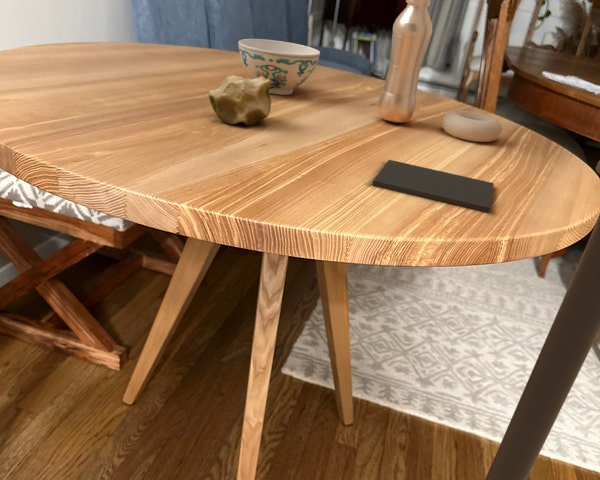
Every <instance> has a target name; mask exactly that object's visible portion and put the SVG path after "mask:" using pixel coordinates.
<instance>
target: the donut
mask: <svg viewBox="0 0 600 480" xmlns="http://www.w3.org/2000/svg"><path fill="white" fill-rule="evenodd" d="M441 126H442V129H443V130H444V132H446V133H447V134H449V135H450V136H452V137H453V138H454V137H455V138H457V139H461V140H464V141H468V142H474V143H475V142H476V143H490V142H494V141H496V140H498V139H499V137H500V136H501V134H502V132H503V125H502V123H501V122H500V121H499V120H498V119H497V118H495V117H493V116H491V115H488V114H485V113H481V112H477V111H471V110H470V111H469V110H463V109H462V110H461V109H460V110H458V109H457V110H451V111H448V112H447V113H446V114H445V115H443V117H442V120H441Z"/></svg>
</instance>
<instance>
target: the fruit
mask: <svg viewBox="0 0 600 480" xmlns="http://www.w3.org/2000/svg"><path fill="white" fill-rule="evenodd" d="M278 85H279V82H278V83H277V84H276V85H274V86H272V87H270V79H268V78H267V79H266V78H265V77H263V76H260V78H255V79H252V78H244V76H243V77H242V76H240V75H234V74H232V75H230V76H227V77H225V79H224V80H223V82H222V83H221V85H220V86H219V87H218V88H215V89H211V90H209V91H208V98H209V102H210V105H211V107H212V110H213V111H214V113H215V115H216V117H217V118H218V119H219V120H220V121H222V122H224V123H226V124H228V125H236V124H240V123H244V124H245V126H253V125H257V124H259V123H261V122H262V121H263V120H265V119H266V118H268V116H269V115H270V113H271V110H272V99H271V96H270V94H271V93H269V89H272V88H274V87H276V86H278ZM269 87H270V88H269Z"/></svg>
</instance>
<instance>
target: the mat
mask: <svg viewBox="0 0 600 480" xmlns="http://www.w3.org/2000/svg"><path fill="white" fill-rule="evenodd" d="M371 185H372V186H373V187H379V188H384V189H388V190H391V191H396V192H401V193H404V194H408V195H413V196H416V197H417V196H418V197H421V198H426V199H430V200H434V201H439V202H443V203H446V204H451V205H455V206H459V207H463V208H468V209H472V210H476V211H481V212H484V213H490V210H491V207H492V199H493V193H494V185H495V184H494V182H490V181H486V180H480V179H478V178H477V179H476V178H473V177H468V176H465V175H460V174H455V173H451V172H446V171H441V170H438V169H432V168H428V167H424V166H420V165H415V164H410V163H407V162H402V161H398V160H394V159H388V160H387V162H386V163H385V164H384V165H383V167H382V168H381V169H380V171H378V173H377V175H376V176H375V177H374V179H372V183H371Z"/></svg>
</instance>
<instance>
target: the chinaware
mask: <svg viewBox="0 0 600 480" xmlns="http://www.w3.org/2000/svg"><path fill="white" fill-rule="evenodd" d="M237 43H238V44H237V45H238V50H239V51H238V52H239V56H240V60H241V63H242V66H243V67H244V69H245V71H246V73H247V75H249V77H250V79H255V78H260V76H263V77H265V78H266V79H267V78H268V79H270V87H272V86H274V85H276V84H277V83H278V82H279V85H278V86H276V87H274V88H272V89H269V94H273V95H280V96H281V95H283V96H284V95H285V96H287V95H293V93H294V89H295V88H297V87H299V86H300V85H302V84H303V83H304V82H305V81H306V80H308V79H309V77H310V76H311V75H312V73H313V72H314V71H315V69H316V67H317V64H318V62H319V59H320V56H321V51H320V50H319V49H316V48H314V47H310V46H308V45H303V44H299V43H295V42H289V41H283V40H282V41H281V40H276V39H275V40H274V39H266V38H265V39H263V38H245V39H244V38H243V39H240V40H238V42H237ZM270 87H269V88H270Z"/></svg>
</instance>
